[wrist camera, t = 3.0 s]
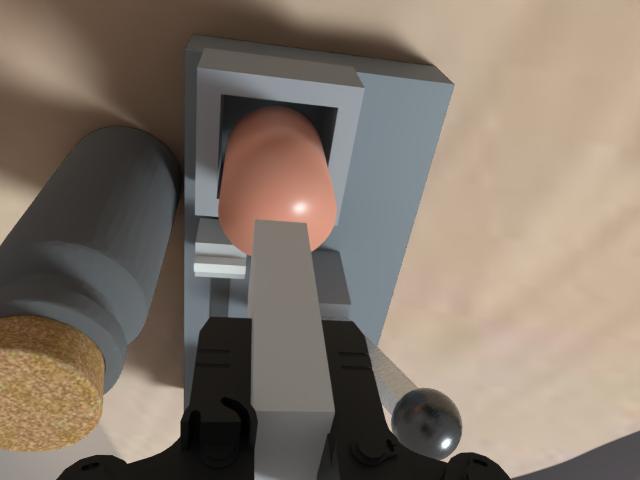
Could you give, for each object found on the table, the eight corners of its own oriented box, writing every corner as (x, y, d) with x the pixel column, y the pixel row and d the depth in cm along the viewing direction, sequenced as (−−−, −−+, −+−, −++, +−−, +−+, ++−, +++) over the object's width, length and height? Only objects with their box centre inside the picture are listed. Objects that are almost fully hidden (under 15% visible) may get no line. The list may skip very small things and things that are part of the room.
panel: (193, 29, 24) (169, 76, 17) (437, 62, 25) (492, 114, 19) (188, 390, 37) (174, 486, 31) (347, 393, 39) (364, 484, 33)
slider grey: (200, 217, 25) (194, 249, 23) (248, 221, 26) (247, 253, 23) (199, 250, 26) (193, 284, 24) (245, 253, 27) (244, 286, 25)
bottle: (114, 236, 29) (8, 483, 17) (45, 152, 26) (-149, 382, 14) (203, 197, 28) (158, 427, 16) (142, 105, 25) (29, 305, 13)
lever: (275, 271, 27) (437, 445, 19) (320, 257, 28) (486, 413, 21) (269, 313, 28) (417, 489, 21) (313, 298, 30) (464, 456, 23)
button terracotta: (228, 100, 20) (220, 153, 16) (328, 111, 20) (346, 165, 16) (224, 190, 22) (215, 257, 18) (314, 197, 23) (326, 264, 18)
